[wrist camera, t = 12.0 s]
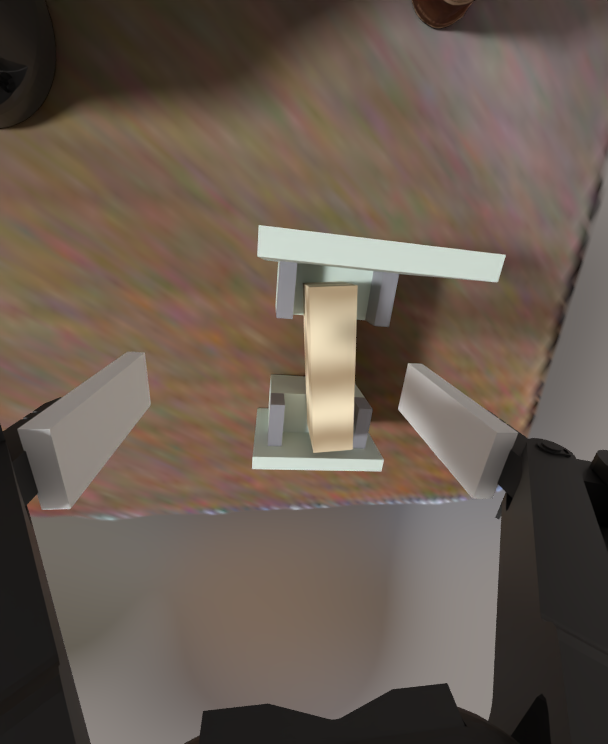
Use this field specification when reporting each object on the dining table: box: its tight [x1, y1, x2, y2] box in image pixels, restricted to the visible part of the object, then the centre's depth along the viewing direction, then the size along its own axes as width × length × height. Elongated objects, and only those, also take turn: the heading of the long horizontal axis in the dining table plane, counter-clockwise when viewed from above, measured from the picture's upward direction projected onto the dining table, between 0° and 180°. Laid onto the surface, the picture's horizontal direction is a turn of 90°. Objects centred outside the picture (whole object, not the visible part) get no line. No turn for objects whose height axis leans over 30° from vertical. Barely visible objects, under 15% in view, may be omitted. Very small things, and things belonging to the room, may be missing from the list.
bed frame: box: [252, 225, 506, 471], centre depth 29 cm, size 22×14×20 cm, turn 174°
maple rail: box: [303, 281, 358, 453], centre depth 30 cm, size 16×4×6 cm, turn 2°
